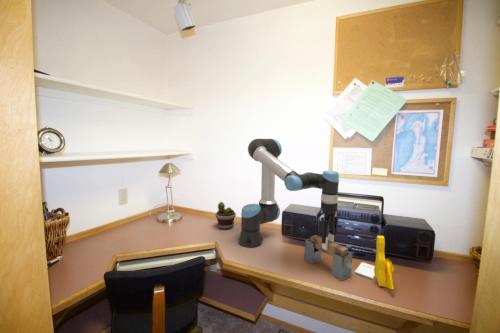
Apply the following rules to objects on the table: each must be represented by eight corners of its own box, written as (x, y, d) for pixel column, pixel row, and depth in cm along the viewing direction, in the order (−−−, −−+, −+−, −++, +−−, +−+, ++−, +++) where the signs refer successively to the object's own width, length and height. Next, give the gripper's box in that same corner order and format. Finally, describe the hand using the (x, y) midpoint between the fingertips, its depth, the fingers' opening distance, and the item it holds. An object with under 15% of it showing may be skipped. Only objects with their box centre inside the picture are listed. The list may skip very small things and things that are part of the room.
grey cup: (331, 275, 112) (332, 253, 111) (340, 270, 116) (342, 249, 115) (342, 280, 108) (343, 258, 106) (351, 276, 112) (352, 254, 110)
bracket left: (304, 259, 127) (305, 239, 125) (313, 256, 131) (313, 237, 129) (312, 264, 122) (313, 243, 121) (321, 260, 126) (322, 240, 125)
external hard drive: (354, 274, 114) (361, 264, 123) (372, 281, 108) (378, 270, 118) (354, 271, 113) (361, 261, 123) (372, 278, 108) (379, 267, 118)
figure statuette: (398, 298, 96) (402, 246, 94) (376, 294, 99) (380, 243, 96) (387, 275, 113) (391, 231, 110) (369, 271, 115) (373, 228, 113)
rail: (310, 245, 125) (310, 236, 124) (315, 243, 127) (315, 234, 126) (342, 260, 109) (342, 250, 108) (347, 258, 111) (347, 248, 111)
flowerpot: (238, 224, 178) (238, 198, 176) (232, 232, 163) (232, 204, 161) (220, 222, 181) (220, 197, 179) (212, 230, 166) (212, 202, 164)
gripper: (324, 206, 108) (322, 255, 110) (346, 201, 117) (344, 246, 119) (311, 203, 114) (310, 249, 116) (333, 198, 123) (332, 241, 126)
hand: (327, 247), depth 118 cm, fingers closed on rail, 4 cm apart
